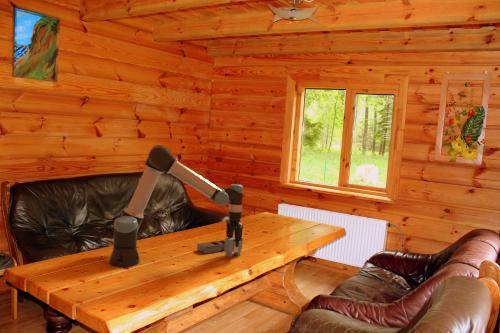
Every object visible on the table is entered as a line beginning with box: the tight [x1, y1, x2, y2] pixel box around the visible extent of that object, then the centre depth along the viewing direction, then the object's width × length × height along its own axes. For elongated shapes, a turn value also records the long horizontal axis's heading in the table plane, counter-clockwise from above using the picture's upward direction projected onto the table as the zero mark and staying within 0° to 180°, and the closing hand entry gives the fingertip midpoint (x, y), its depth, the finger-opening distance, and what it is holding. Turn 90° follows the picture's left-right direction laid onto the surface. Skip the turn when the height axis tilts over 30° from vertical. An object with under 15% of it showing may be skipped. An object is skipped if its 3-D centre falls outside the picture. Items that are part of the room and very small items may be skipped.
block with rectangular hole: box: [196, 239, 226, 255], centre depth 261 cm, size 26×8×4 cm, turn 130°
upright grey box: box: [224, 236, 244, 258], centre depth 250 cm, size 10×4×10 cm, turn 130°
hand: (233, 250), depth 251 cm, fingers closed on upright grey box, 4 cm apart
